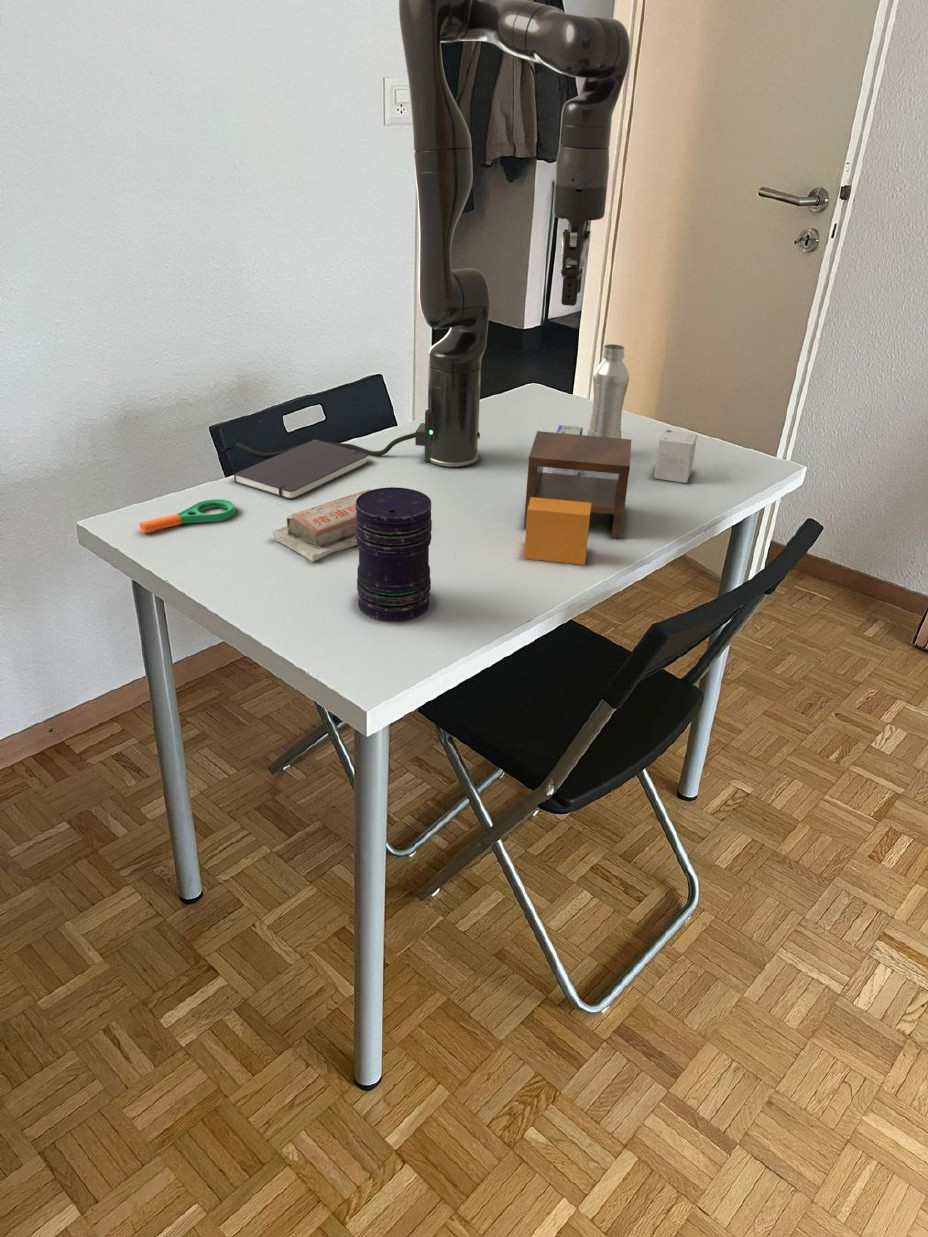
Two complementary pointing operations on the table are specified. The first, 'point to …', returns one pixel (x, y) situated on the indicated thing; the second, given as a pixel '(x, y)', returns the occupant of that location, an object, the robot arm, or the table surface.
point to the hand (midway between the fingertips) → (570, 298)
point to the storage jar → (393, 553)
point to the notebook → (301, 469)
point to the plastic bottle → (609, 393)
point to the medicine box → (567, 430)
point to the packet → (557, 530)
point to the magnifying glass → (191, 515)
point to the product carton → (675, 456)
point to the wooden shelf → (584, 457)
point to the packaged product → (321, 528)
